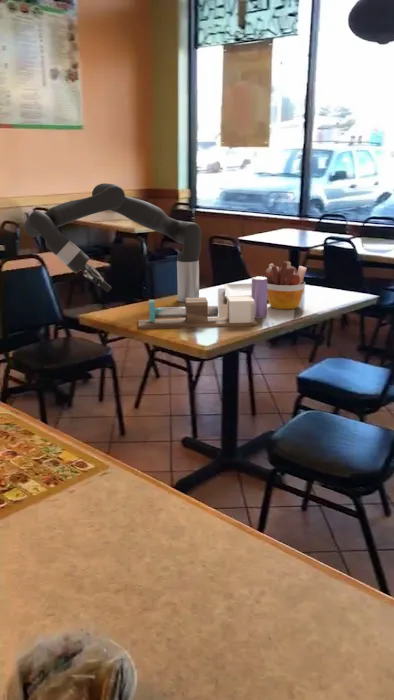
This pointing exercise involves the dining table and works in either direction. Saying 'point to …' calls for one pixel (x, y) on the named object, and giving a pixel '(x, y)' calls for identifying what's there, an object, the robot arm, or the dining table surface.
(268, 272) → the bucket of meat
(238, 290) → the square plate
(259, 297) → the beverage can
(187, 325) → the rail board
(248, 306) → the socket
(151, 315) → the slip tube
